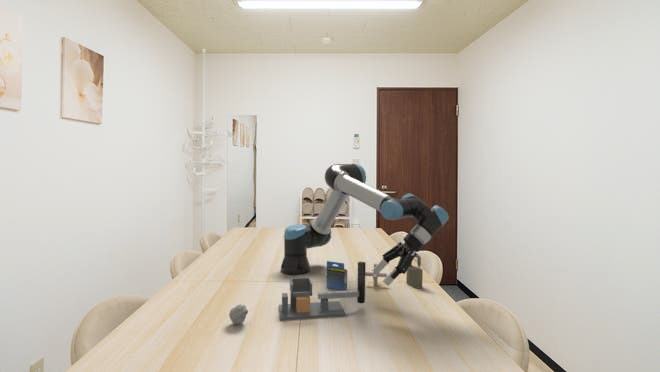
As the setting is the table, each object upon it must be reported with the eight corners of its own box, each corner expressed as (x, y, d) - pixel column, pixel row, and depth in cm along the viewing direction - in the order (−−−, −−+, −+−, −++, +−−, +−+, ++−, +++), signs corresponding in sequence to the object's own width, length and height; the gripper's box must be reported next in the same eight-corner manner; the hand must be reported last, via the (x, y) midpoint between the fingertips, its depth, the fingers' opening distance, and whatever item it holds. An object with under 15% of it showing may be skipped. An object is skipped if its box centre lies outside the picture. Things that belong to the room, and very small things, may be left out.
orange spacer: (296, 312, 132) (296, 299, 132) (295, 307, 137) (295, 294, 137) (310, 311, 133) (310, 298, 132) (308, 306, 138) (308, 293, 137)
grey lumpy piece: (239, 330, 120) (239, 309, 120) (225, 324, 124) (224, 305, 123) (252, 323, 125) (252, 303, 125) (238, 318, 129) (238, 299, 128)
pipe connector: (385, 289, 159) (386, 267, 159) (363, 288, 161) (363, 266, 161) (386, 282, 169) (387, 261, 168) (365, 281, 171) (366, 260, 170)
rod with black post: (318, 306, 134) (318, 265, 133) (317, 303, 137) (317, 263, 136) (365, 303, 138) (366, 263, 137) (363, 300, 141) (364, 261, 140)
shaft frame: (280, 320, 127) (280, 287, 127) (278, 307, 139) (278, 277, 138) (345, 316, 132) (346, 284, 131) (339, 303, 143) (339, 274, 143)
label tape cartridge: (347, 288, 161) (347, 261, 161) (344, 290, 158) (344, 263, 157) (329, 285, 165) (330, 258, 164) (326, 287, 162) (326, 260, 161)
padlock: (416, 288, 161) (417, 256, 160) (405, 283, 168) (405, 251, 167) (423, 287, 163) (424, 255, 162) (411, 282, 170) (412, 251, 169)
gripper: (437, 252, 129) (397, 295, 127) (410, 238, 154) (376, 274, 152) (424, 238, 128) (383, 282, 126) (399, 226, 152) (364, 262, 151)
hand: (379, 278), depth 139 cm, fingers open, 13 cm apart
